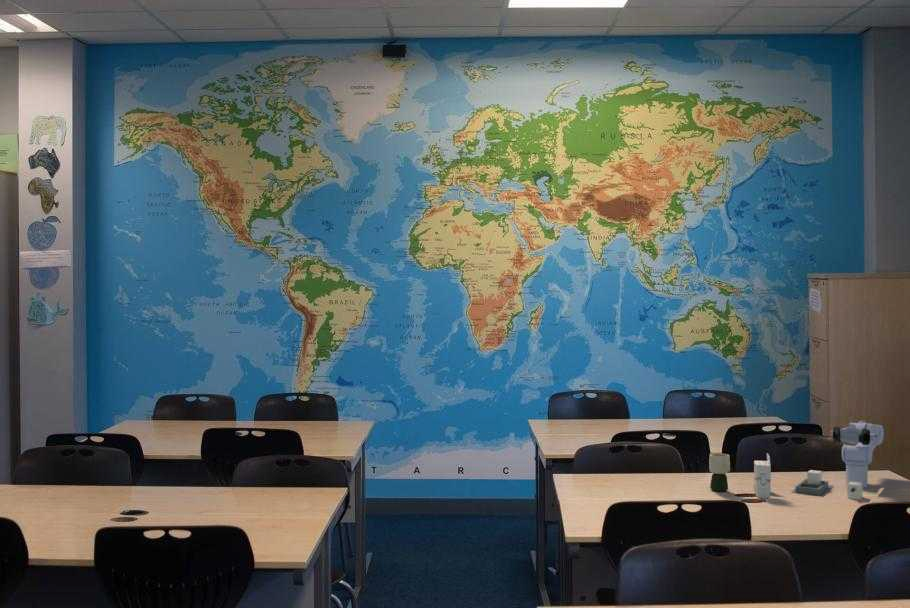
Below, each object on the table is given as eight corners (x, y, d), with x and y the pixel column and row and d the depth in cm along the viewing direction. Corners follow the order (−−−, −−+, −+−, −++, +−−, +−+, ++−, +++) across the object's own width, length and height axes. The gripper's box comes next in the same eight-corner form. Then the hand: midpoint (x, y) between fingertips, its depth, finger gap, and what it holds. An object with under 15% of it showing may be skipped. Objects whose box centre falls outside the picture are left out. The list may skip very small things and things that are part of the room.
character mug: (737, 492, 327) (737, 456, 327) (721, 494, 324) (721, 458, 324) (717, 486, 337) (717, 451, 337) (701, 488, 334) (702, 453, 334)
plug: (850, 498, 320) (850, 481, 320) (862, 499, 318) (862, 482, 317) (846, 502, 314) (846, 485, 313) (858, 504, 311) (858, 486, 311)
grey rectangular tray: (803, 484, 340) (803, 476, 340) (834, 488, 334) (834, 480, 334) (790, 495, 324) (790, 486, 324) (823, 499, 318) (823, 490, 318)
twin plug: (811, 484, 336) (811, 468, 336) (822, 486, 334) (823, 470, 334) (807, 488, 330) (807, 472, 330) (818, 490, 328) (818, 473, 328)
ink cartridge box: (753, 492, 328) (753, 451, 328) (767, 493, 327) (768, 452, 327) (756, 497, 320) (756, 456, 319) (770, 498, 319) (771, 456, 318)
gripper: (833, 421, 334) (826, 424, 323) (876, 424, 327) (870, 428, 315) (833, 440, 334) (825, 444, 323) (876, 443, 327) (870, 448, 315)
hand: (847, 438), depth 319 cm, fingers open, 7 cm apart
